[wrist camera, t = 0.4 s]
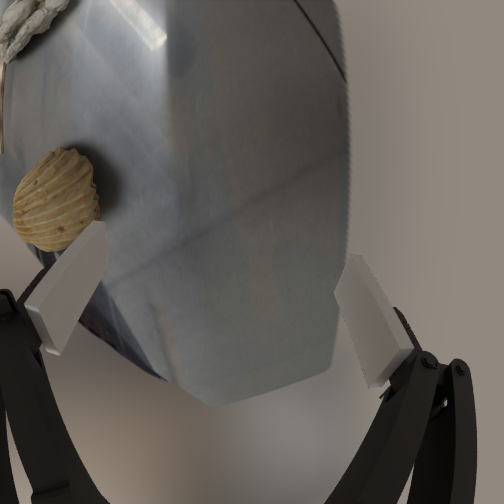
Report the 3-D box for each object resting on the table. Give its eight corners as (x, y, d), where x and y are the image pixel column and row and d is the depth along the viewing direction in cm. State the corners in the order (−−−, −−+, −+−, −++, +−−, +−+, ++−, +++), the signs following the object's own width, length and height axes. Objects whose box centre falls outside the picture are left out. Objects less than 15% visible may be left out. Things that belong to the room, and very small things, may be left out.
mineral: (87, 3, 20) (49, -26, 10) (14, 81, 24) (-27, 67, 14) (80, -16, 20) (50, -40, 10) (16, 49, 24) (-17, 35, 14)
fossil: (34, 150, 34) (-24, 179, 21) (112, 136, 35) (56, 161, 22) (48, 226, 42) (4, 270, 29) (122, 225, 43) (84, 278, 30)
